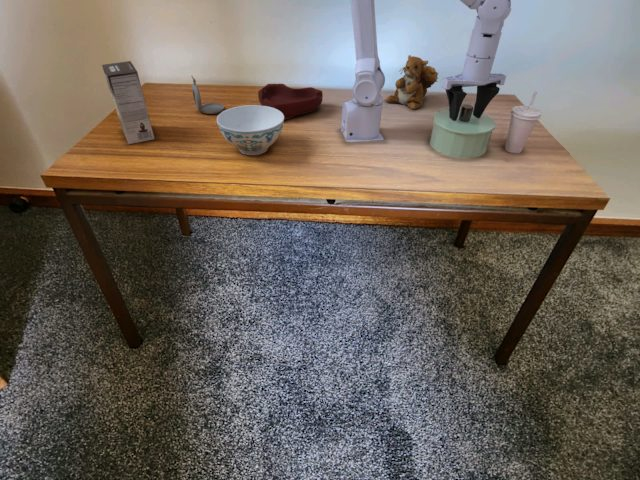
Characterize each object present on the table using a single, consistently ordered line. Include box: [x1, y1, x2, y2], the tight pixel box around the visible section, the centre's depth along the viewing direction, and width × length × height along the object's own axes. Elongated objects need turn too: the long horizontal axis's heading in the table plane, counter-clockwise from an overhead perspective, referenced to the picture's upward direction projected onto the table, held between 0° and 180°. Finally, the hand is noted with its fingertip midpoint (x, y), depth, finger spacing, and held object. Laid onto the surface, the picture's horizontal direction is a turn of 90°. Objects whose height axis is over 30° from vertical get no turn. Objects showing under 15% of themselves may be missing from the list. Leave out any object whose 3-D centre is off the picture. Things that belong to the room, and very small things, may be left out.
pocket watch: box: [191, 75, 225, 115], centre depth 108 cm, size 8×8×10 cm
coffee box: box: [101, 60, 156, 145], centre depth 94 cm, size 9×6×16 cm
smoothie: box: [504, 91, 542, 154], centre depth 92 cm, size 6×6×14 cm
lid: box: [432, 104, 497, 135], centre depth 92 cm, size 14×14×4 cm
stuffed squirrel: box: [385, 54, 439, 111], centre depth 116 cm, size 10×14×13 cm
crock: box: [429, 121, 493, 159], centre depth 95 cm, size 13×13×6 cm
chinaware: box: [216, 104, 285, 156], centre depth 91 cm, size 15×15×8 cm
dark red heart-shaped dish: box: [257, 83, 323, 121], centre depth 110 cm, size 18×16×5 cm
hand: (464, 117), depth 92 cm, fingers open, 6 cm apart
